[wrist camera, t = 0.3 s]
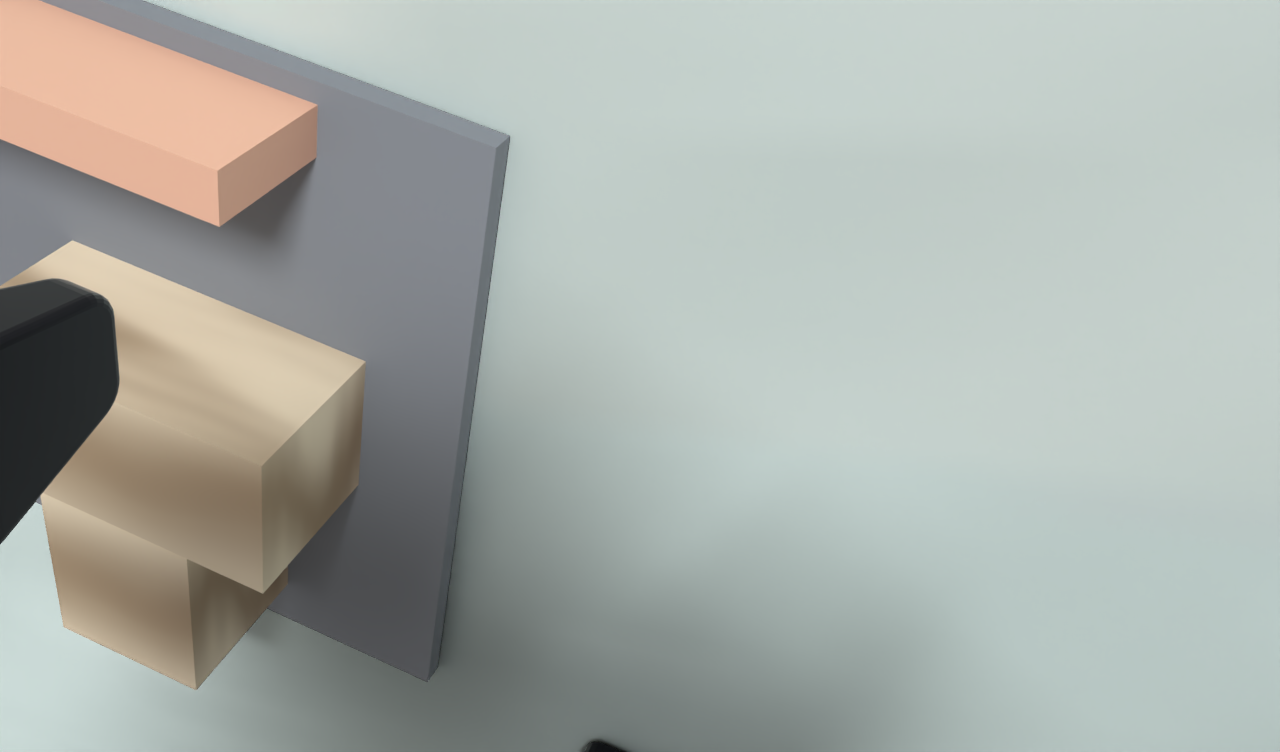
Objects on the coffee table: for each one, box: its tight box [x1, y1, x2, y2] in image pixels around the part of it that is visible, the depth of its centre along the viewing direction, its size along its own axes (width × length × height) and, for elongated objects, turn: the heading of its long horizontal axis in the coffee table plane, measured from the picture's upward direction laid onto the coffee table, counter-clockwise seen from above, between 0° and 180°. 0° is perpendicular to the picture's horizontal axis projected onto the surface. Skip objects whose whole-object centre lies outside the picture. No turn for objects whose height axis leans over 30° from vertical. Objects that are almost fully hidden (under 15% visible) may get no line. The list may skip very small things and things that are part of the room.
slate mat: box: [0, 0, 510, 682], centre depth 30 cm, size 17×19×1 cm
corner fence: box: [0, 0, 318, 227], centre depth 28 cm, size 14×15×3 cm
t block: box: [0, 240, 366, 690], centre depth 29 cm, size 9×8×4 cm
